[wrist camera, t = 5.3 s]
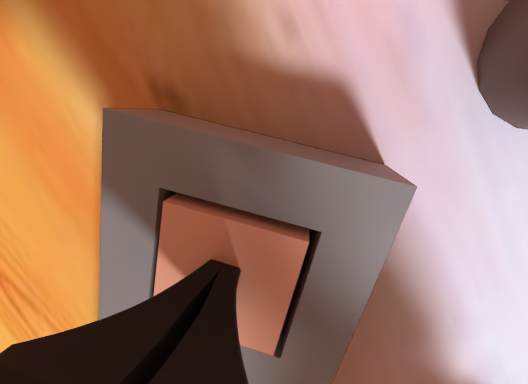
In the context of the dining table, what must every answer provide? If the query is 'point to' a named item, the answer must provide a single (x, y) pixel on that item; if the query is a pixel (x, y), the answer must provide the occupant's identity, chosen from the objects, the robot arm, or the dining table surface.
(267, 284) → the terracotta key
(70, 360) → the robot arm
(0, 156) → the dining table surface
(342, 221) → the key panel
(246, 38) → the dining table surface
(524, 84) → the candle holder
